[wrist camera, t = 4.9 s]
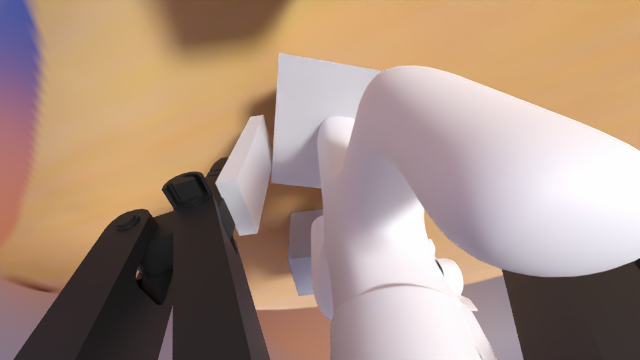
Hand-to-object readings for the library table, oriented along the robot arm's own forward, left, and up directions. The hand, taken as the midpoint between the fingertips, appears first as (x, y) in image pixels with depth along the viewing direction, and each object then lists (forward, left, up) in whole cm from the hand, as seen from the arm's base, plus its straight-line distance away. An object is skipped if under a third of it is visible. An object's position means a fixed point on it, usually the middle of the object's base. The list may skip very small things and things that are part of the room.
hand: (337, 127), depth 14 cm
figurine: (0, 0, -3) cm, 3 cm away
